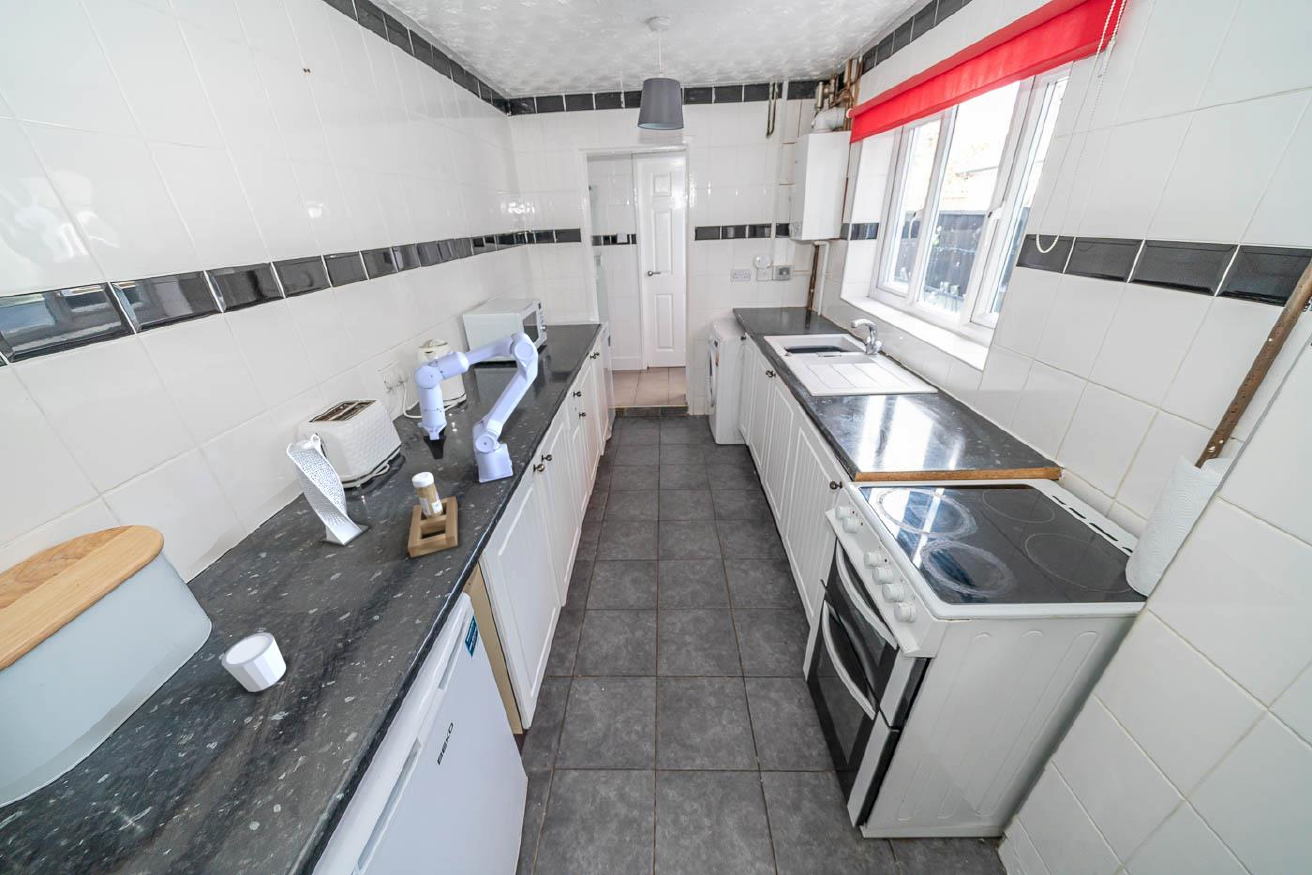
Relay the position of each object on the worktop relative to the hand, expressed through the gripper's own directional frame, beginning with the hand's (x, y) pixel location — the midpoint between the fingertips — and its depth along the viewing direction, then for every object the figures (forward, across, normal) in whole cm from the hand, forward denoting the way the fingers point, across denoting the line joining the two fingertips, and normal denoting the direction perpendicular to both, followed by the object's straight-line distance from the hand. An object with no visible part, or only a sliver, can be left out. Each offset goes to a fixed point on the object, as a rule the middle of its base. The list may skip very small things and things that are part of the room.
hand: (438, 452), depth 127 cm
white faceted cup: (+14, +53, -28) cm, 62 cm away
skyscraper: (+14, +14, -22) cm, 30 cm away
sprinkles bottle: (+11, +18, -2) cm, 21 cm away
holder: (+11, +22, -2) cm, 24 cm away
